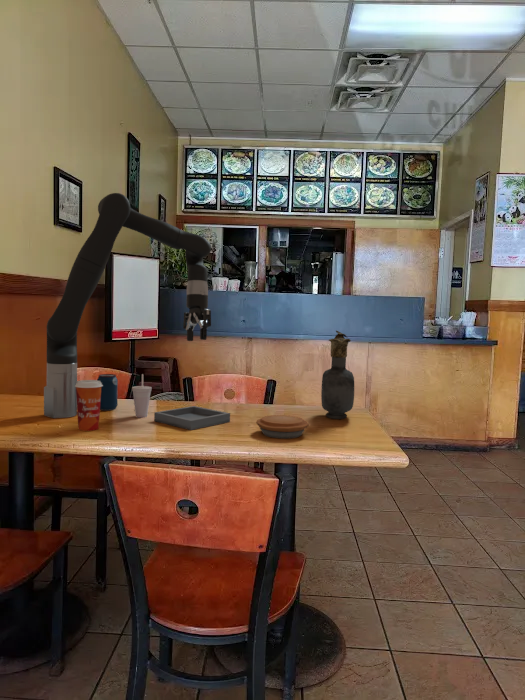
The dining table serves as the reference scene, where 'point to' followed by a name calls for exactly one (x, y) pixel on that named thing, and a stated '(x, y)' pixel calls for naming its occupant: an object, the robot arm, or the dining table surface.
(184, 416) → the tray
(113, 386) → the soda can
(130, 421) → the dining table surface
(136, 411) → the smoothie
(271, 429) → the pie
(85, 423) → the paper cup
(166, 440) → the dining table surface
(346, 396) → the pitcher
